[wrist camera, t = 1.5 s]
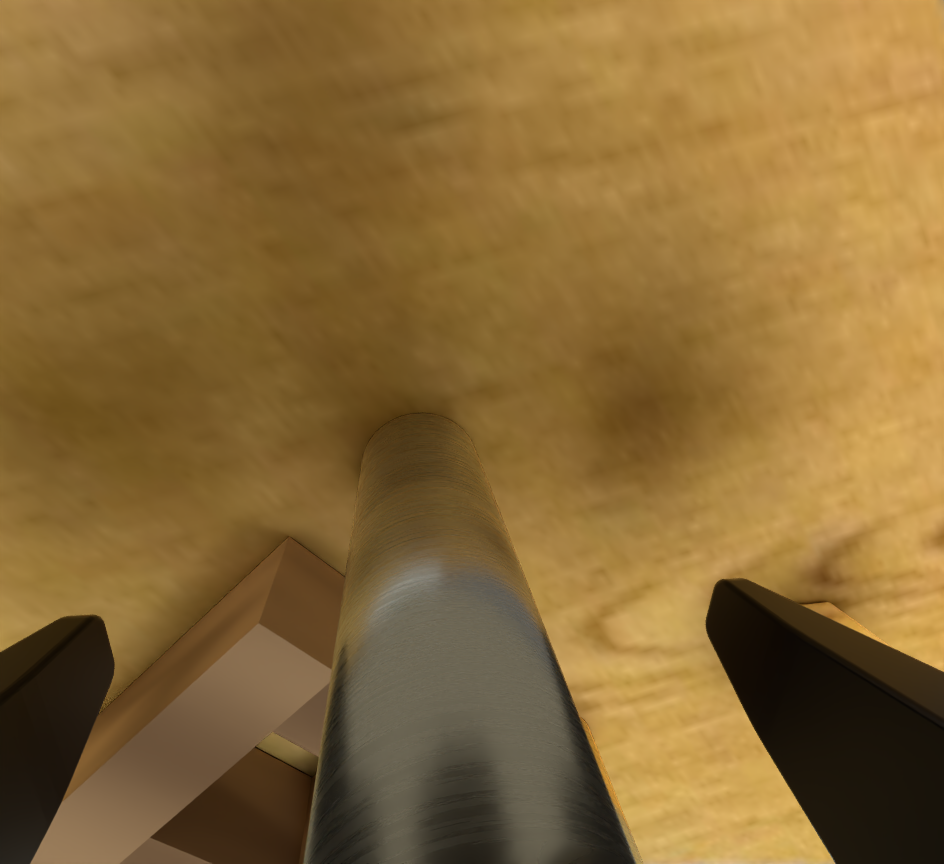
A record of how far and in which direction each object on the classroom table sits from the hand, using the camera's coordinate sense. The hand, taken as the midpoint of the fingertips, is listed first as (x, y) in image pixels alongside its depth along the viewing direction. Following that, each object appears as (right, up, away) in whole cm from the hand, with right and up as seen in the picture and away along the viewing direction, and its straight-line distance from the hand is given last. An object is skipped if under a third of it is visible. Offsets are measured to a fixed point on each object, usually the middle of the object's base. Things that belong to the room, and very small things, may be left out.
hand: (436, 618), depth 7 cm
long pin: (-1, +2, +5) cm, 5 cm away
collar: (-4, -5, +7) cm, 9 cm away
